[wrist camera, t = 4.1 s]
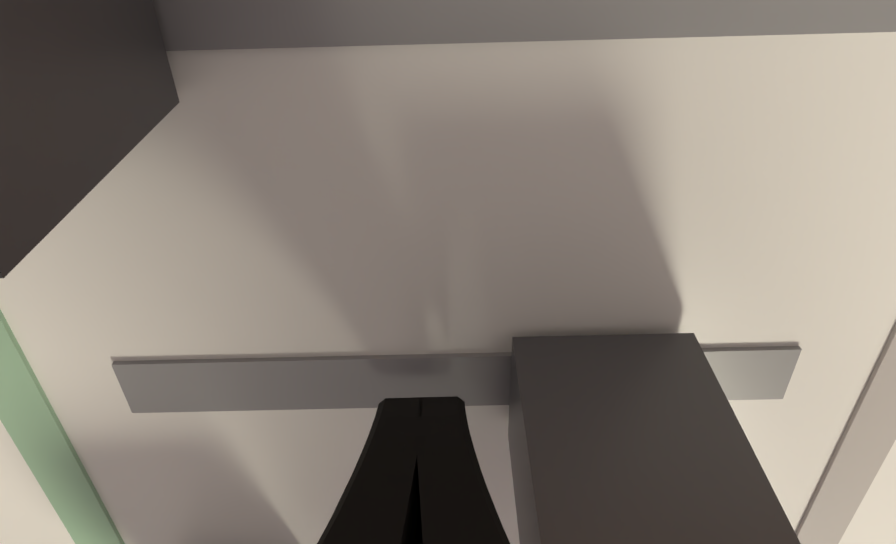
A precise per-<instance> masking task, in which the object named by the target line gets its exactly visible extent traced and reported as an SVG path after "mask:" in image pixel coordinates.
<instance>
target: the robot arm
mask: <svg viewBox="0 0 896 544" xmlns="http://www.w3.org/2000/svg"><path fill="white" fill-rule="evenodd" d="M317 544H510V542H509V540H508V537H507V535H506V533H505V531H504V528H503V526H502V524H501V521H500V518H499V516H498V513H497V511H496V508H495V506H494V503H493V501H492V498H491V496H490V493H489V491H488V488H487V486H486V483H485V480H484V477H483V474H482V472H481V469H480V465H479V462H478V459H477V456H476V453H475V450H474V446H473V442H472V439H471V435H470V431H469V427H468V421H467V416H466V410H465V402H464V401H463V400H462V399H461V398H459V397H458V396H453V397H413V398H385V399H384V400H383V401H381V402H380V403H379V405H378V408H377V411H376V415H375V418H374V421H373V424H372V427H371V430H370V432H369V435H368V438H367V440H366V443H365V445H364V448H363V450H362V452H361V455H360V457H359V459H358V462H357V464H356V466H355V469H354V471H353V473H352V475H351V477H350V480H349V482H348V484H347V486H346V488H345V490H344V492H343V494H342V496H341V498H340V500H339V502H338V504H337V506H336V508H335V511H334V513H333V515H332V517H331V519H330V521H329V523H328V524H327V526H326V528H325V530H324V532H323V534H322V535H321V537H320V539H319V541H318V543H317Z"/></svg>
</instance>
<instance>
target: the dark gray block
mask: <svg viewBox="0 0 896 544" xmlns="http://www.w3.org/2000/svg"><path fill="white" fill-rule="evenodd" d="M508 441H509V450H510V459H511V468H512V477H513V486H514V496H515V505H516V514H517V523H518V532H519V542H520V544H801V543H800V541H799V539H798V537H797V535H796V533H795V531H794V529H793V527H792V526H791V524H790V522H789V520H788V518H787V516H786V514H785V512H784V510H783V508H782V506H781V504H780V502H779V500H778V498H777V496H776V494H775V492H774V490H773V488H772V486H771V484H770V482H769V480H768V478H767V476H766V474H765V472H764V470H763V468H762V466H761V464H760V462H759V460H758V459H757V457H756V455H755V453H754V451H753V449H752V447H751V445H750V443H749V441H748V439H747V437H746V435H745V433H744V431H743V429H742V427H741V425H740V423H739V421H738V419H737V417H736V415H735V413H734V411H733V409H732V407H731V405H730V403H729V401H728V399H727V397H726V395H725V393H724V392H723V390H722V388H721V386H720V384H719V382H718V380H717V378H716V376H715V374H714V372H713V370H712V368H711V366H710V364H709V362H708V360H707V358H706V356H705V354H704V352H703V350H702V348H701V346H700V344H699V342H698V340H697V338H696V336H695V334H694V333H667V334H622V335H578V336H533V337H512V354H511V377H510V400H509V423H508Z"/></svg>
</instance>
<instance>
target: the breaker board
mask: <svg viewBox="0 0 896 544" xmlns="http://www.w3.org/2000/svg"><path fill="white" fill-rule="evenodd" d="M152 1H153V5H154V9H155V12H156V16H157V20H158V24H159V27H160V31H161V35H162V39H163V42H164V46H165V50H166V53H167V57H168V61H169V65H170V68H171V72H172V76H173V80H174V83H175V87H176V91H177V94H178V98H179V103H178V104H177V105H176V106H175V107H174V108H173V109H172V110H171V111H170V112H169V113H168V114H167V115H166V116H165V117H164V118H163V119H162V120H161V121H160V122H159V123H158V124H157V125H156V126H155V127H154V128H153V129H152V130H151V131H150V132H149V133H148V134H147V135H146V136H145V137H144V138H143V139H142V140H141V141H140V142H139V143H138V144H137V145H136V146H135V147H134V148H133V149H132V150H131V151H130V152H129V153H128V154H127V155H126V156H125V157H124V158H123V159H122V160H121V161H120V162H119V163H118V164H117V165H116V166H115V167H114V168H113V169H112V170H111V171H110V172H109V173H108V174H107V175H106V176H105V177H104V178H103V179H102V180H101V181H100V182H99V183H98V184H97V185H96V186H95V187H94V188H93V189H92V190H91V191H90V192H89V193H88V194H87V195H86V196H85V197H84V198H83V199H82V200H81V201H80V202H79V203H78V204H77V205H76V206H75V207H74V208H73V209H72V211H71V212H70V213H69V214H68V215H67V216H66V217H65V218H64V219H63V220H62V221H61V222H60V223H59V224H58V225H57V226H56V227H55V228H54V229H53V230H52V231H51V232H50V233H49V234H48V235H47V236H46V237H45V238H44V239H43V240H42V241H41V242H40V243H39V244H38V245H37V246H36V247H35V248H34V249H33V250H32V251H31V252H30V253H29V254H28V255H27V256H26V257H25V258H24V259H23V260H22V261H21V262H20V263H19V264H18V265H17V266H16V267H15V268H14V269H13V270H12V271H11V272H10V273H9V274H8V275H7V276H6V277H5V278H0V544H317V543H318V541H319V539H320V537H321V535H322V534H323V532H324V530H325V528H326V526H327V524H328V523H329V521H330V519H331V517H332V515H333V513H334V511H335V508H336V506H337V504H338V502H339V500H340V498H341V496H342V494H343V492H344V490H345V488H346V486H347V484H348V482H349V480H350V477H351V475H352V473H353V471H354V469H355V466H356V464H357V462H358V459H359V457H360V455H361V452H362V450H363V448H364V445H365V443H366V440H367V438H368V435H369V432H370V430H371V427H372V424H373V421H374V418H375V415H376V411H377V408H378V405H379V403H380V402H381V401H383V400H384V399H385V398H413V397H453V396H458V397H459V398H461V399H462V400H463V401H464V402H465V410H466V416H467V421H468V427H469V431H470V435H471V439H472V442H473V446H474V450H475V453H476V456H477V459H478V462H479V465H480V469H481V472H482V474H483V477H484V480H485V483H486V486H487V488H488V491H489V493H490V496H491V498H492V501H493V503H494V506H495V508H496V511H497V513H498V516H499V518H500V521H501V524H502V526H503V528H504V531H505V533H506V535H507V537H508V540H509V542H510V544H520V542H519V532H518V523H517V514H516V505H515V496H514V486H513V477H512V468H511V459H510V450H509V441H508V423H509V400H510V377H511V354H512V337H533V336H578V335H622V334H667V333H694V334H695V336H696V338H697V340H698V342H699V344H700V346H701V348H702V350H703V352H704V354H705V356H706V358H707V360H708V362H709V364H710V366H711V368H712V370H713V372H714V374H715V376H716V378H717V380H718V382H719V384H720V386H721V388H722V390H723V392H724V393H725V395H726V397H727V399H728V401H729V403H730V405H731V407H732V409H733V411H734V413H735V415H736V417H737V419H738V421H739V423H740V425H741V427H742V429H743V431H744V433H745V435H746V437H747V439H748V441H749V443H750V445H751V447H752V449H753V451H754V453H755V455H756V457H757V459H758V460H759V462H760V464H761V466H762V468H763V470H764V472H765V474H766V476H767V478H768V480H769V482H770V484H771V486H772V488H773V490H774V492H775V494H776V496H777V498H778V500H779V502H780V504H781V506H782V508H783V510H784V512H785V514H786V516H787V518H788V520H789V522H790V524H791V526H792V527H793V529H794V531H795V533H796V535H797V537H798V539H799V541H800V543H801V544H896V0H152Z"/></svg>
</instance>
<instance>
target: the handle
mask: <svg viewBox="0 0 896 544" xmlns="http://www.w3.org/2000/svg"><path fill="white" fill-rule="evenodd" d="M178 103H179V98H178V94H177V91H176V87H175V83H174V80H173V76H172V72H171V68H170V65H169V61H168V57H167V53H166V50H165V46H164V42H163V39H162V35H161V31H160V27H159V24H158V20H157V16H156V12H155V9H154V5H153V1H152V0H0V278H5V277H6V276H7V275H8V274H9V273H10V272H11V271H12V270H13V269H14V268H15V267H16V266H17V265H18V264H19V263H20V262H21V261H22V260H23V259H24V258H25V257H26V256H27V255H28V254H29V253H30V252H31V251H32V250H33V249H34V248H35V247H36V246H37V245H38V244H39V243H40V242H41V241H42V240H43V239H44V238H45V237H46V236H47V235H48V234H49V233H50V232H51V231H52V230H53V229H54V228H55V227H56V226H57V225H58V224H59V223H60V222H61V221H62V220H63V219H64V218H65V217H66V216H67V215H68V214H69V213H70V212H71V211H72V209H73V208H74V207H75V206H76V205H77V204H78V203H79V202H80V201H81V200H82V199H83V198H84V197H85V196H86V195H87V194H88V193H89V192H90V191H91V190H92V189H93V188H94V187H95V186H96V185H97V184H98V183H99V182H100V181H101V180H102V179H103V178H104V177H105V176H106V175H107V174H108V173H109V172H110V171H111V170H112V169H113V168H114V167H115V166H116V165H117V164H118V163H119V162H120V161H121V160H122V159H123V158H124V157H125V156H126V155H127V154H128V153H129V152H130V151H131V150H132V149H133V148H134V147H135V146H136V145H137V144H138V143H139V142H140V141H141V140H142V139H143V138H144V137H145V136H146V135H147V134H148V133H149V132H150V131H151V130H152V129H153V128H154V127H155V126H156V125H157V124H158V123H159V122H160V121H161V120H162V119H163V118H164V117H165V116H166V115H167V114H168V113H169V112H170V111H171V110H172V109H173V108H174V107H175V106H176V105H177V104H178Z"/></svg>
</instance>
